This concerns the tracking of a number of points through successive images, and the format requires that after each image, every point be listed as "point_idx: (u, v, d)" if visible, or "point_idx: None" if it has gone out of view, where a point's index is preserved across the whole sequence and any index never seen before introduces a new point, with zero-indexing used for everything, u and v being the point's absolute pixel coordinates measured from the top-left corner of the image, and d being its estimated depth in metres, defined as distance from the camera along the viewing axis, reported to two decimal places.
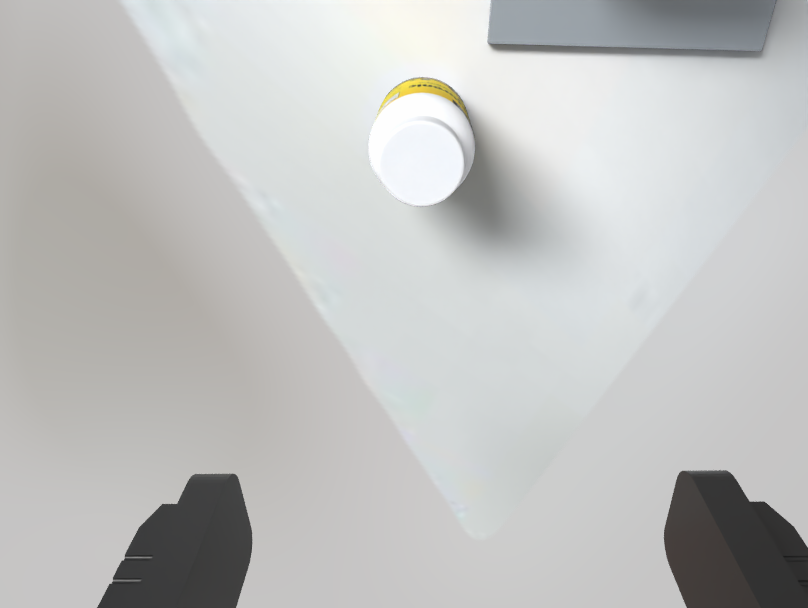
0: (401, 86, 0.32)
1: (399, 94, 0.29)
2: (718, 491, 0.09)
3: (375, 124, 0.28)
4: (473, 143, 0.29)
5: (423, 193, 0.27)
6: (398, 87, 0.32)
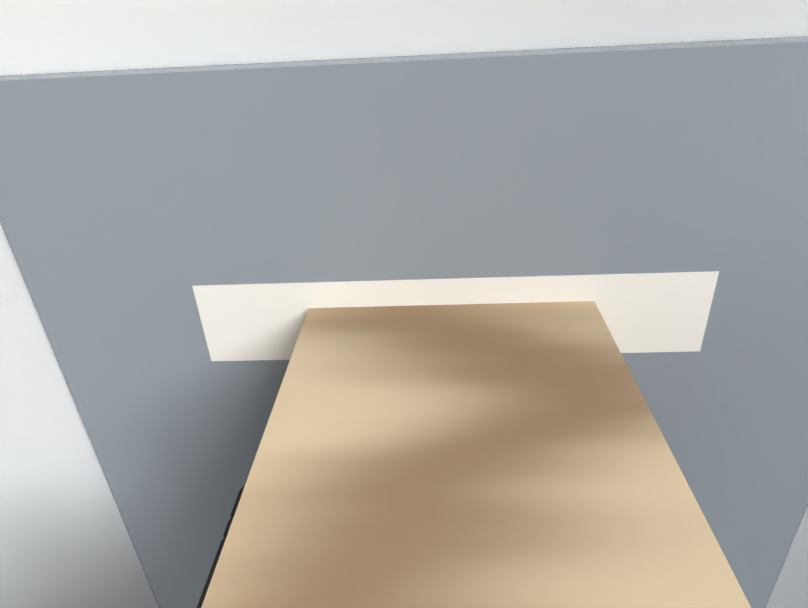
0: None
1: None
2: None
3: None
4: None
5: None
6: None
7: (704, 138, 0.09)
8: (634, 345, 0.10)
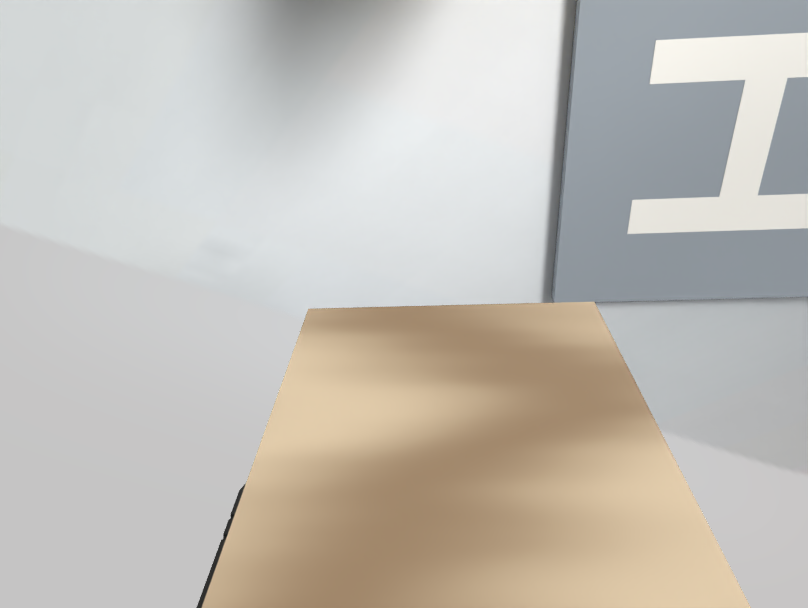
0: None
1: None
2: None
3: None
4: None
5: None
6: None
7: None
8: None
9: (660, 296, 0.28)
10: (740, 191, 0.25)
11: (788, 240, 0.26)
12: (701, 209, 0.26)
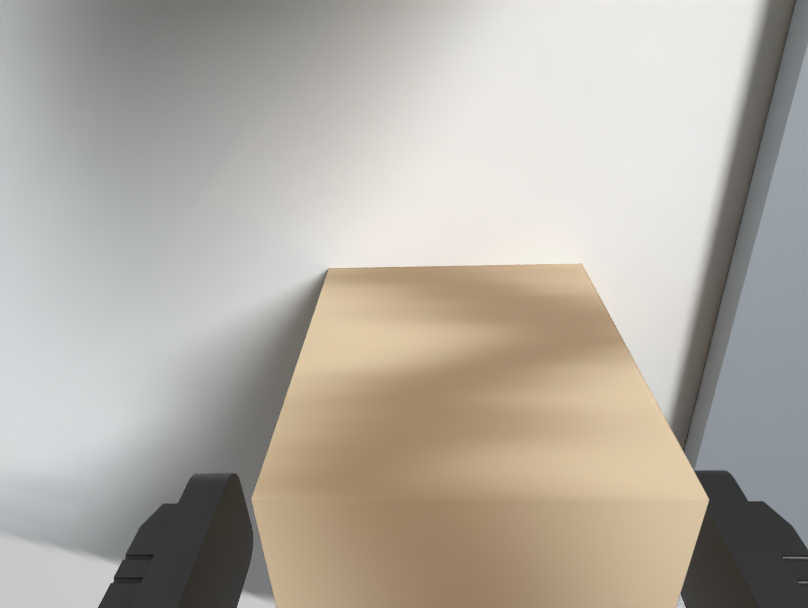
0: None
1: None
2: (717, 491, 0.09)
3: None
4: None
5: None
6: None
7: None
8: None
9: None
10: None
11: None
12: None
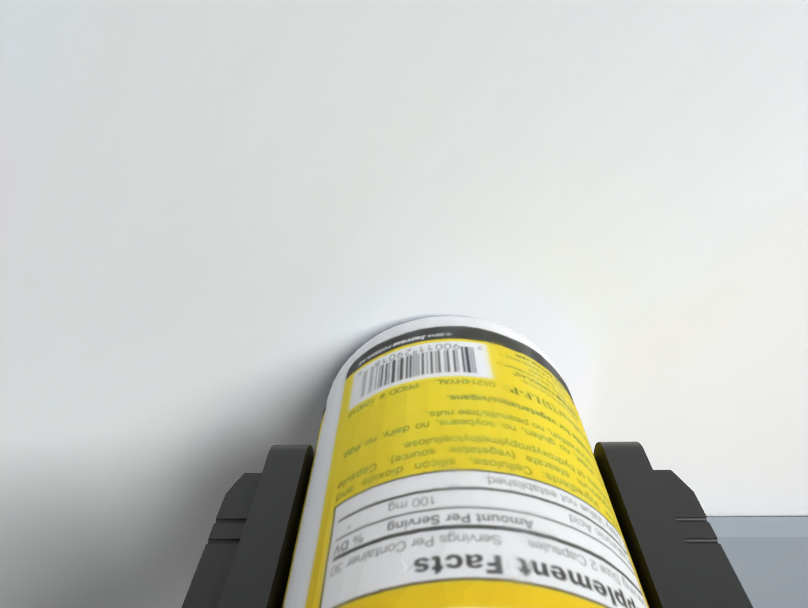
0: (588, 444, 0.10)
1: (643, 594, 0.08)
2: (625, 459, 0.10)
3: None
4: None
5: None
6: (582, 430, 0.10)
7: None
8: None
9: None
10: None
11: None
12: None
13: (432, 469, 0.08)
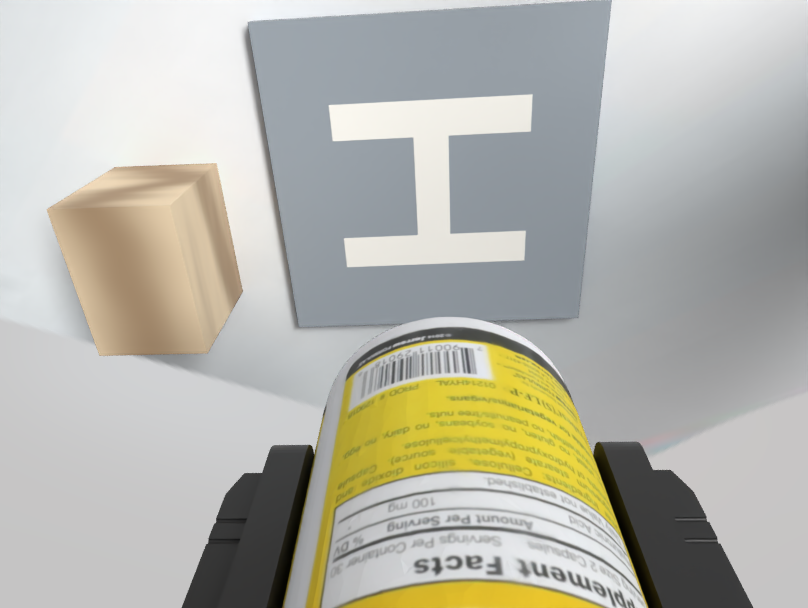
0: (588, 445, 0.10)
1: (642, 595, 0.08)
2: (625, 459, 0.10)
3: None
4: None
5: None
6: (581, 431, 0.10)
7: (519, 39, 0.24)
8: (504, 128, 0.26)
9: (390, 320, 0.31)
10: (434, 230, 0.29)
11: (488, 271, 0.30)
12: (405, 246, 0.29)
13: (432, 470, 0.08)
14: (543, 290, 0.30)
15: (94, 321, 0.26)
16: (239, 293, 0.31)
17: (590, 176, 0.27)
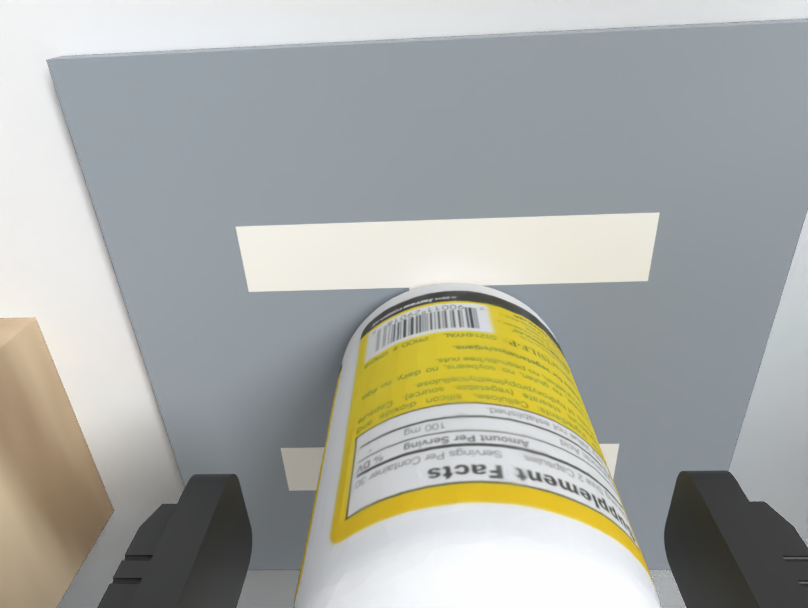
0: (578, 394, 0.11)
1: (623, 509, 0.09)
2: (718, 491, 0.09)
3: (582, 563, 0.07)
4: None
5: None
6: (573, 381, 0.12)
7: (643, 103, 0.11)
8: (594, 276, 0.13)
9: None
10: None
11: None
12: None
13: (441, 402, 0.09)
14: (641, 531, 0.17)
15: None
16: (104, 520, 0.18)
17: (756, 360, 0.14)
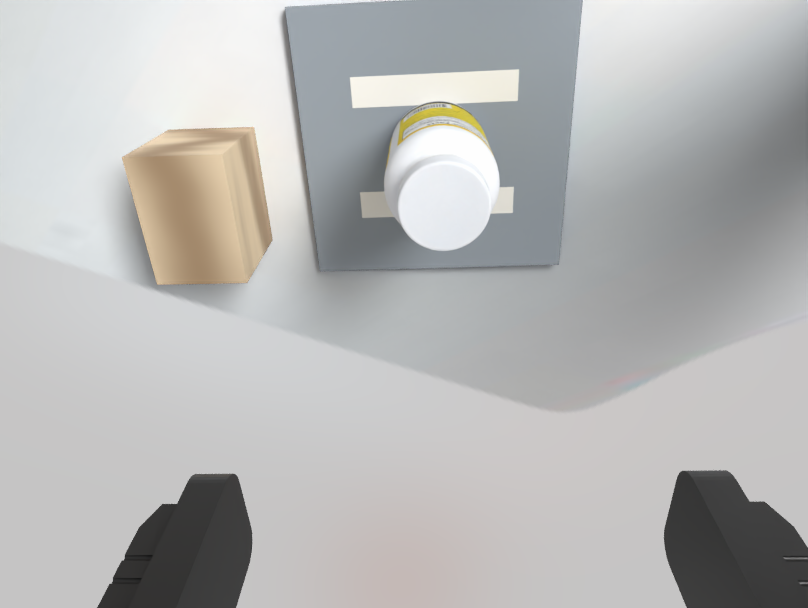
0: (484, 135, 0.30)
1: None
2: (718, 491, 0.09)
3: (469, 136, 0.26)
4: None
5: (413, 213, 0.25)
6: None
7: (507, 23, 0.30)
8: (495, 98, 0.32)
9: (398, 266, 0.37)
10: None
11: None
12: None
13: (431, 116, 0.28)
14: (529, 239, 0.35)
15: (154, 254, 0.31)
16: (270, 240, 0.36)
17: (567, 139, 0.32)
